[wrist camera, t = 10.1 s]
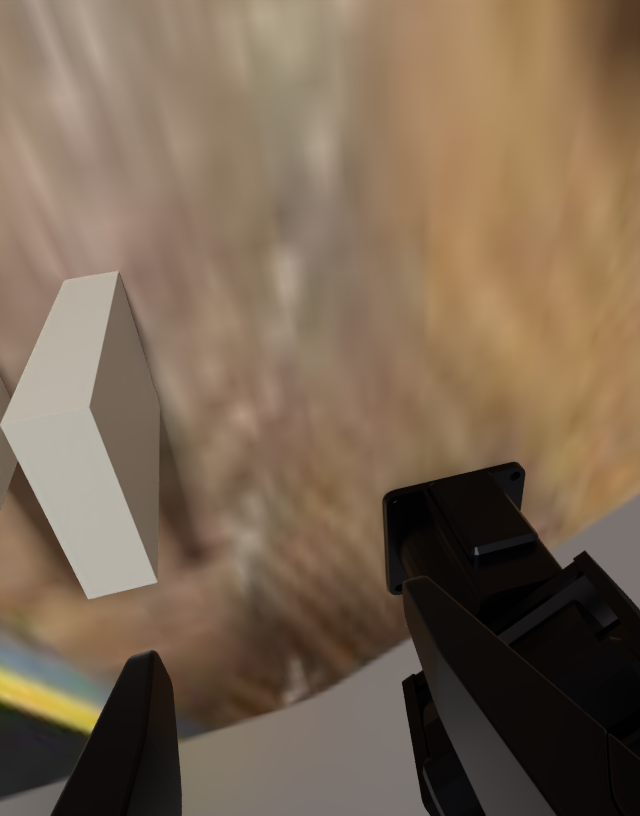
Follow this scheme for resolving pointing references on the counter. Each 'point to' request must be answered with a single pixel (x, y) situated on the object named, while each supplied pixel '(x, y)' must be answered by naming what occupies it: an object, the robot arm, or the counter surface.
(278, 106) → the counter surface
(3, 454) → the domino
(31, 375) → the domino
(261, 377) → the counter surface
